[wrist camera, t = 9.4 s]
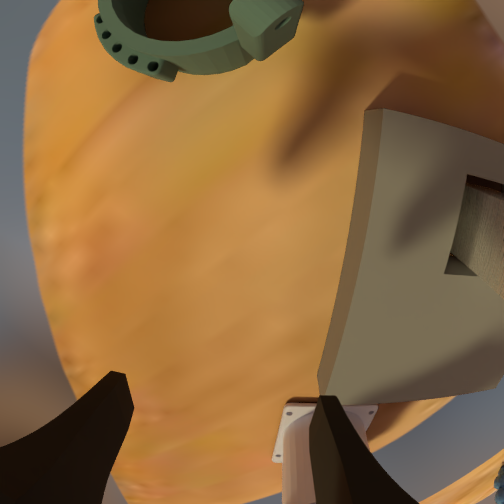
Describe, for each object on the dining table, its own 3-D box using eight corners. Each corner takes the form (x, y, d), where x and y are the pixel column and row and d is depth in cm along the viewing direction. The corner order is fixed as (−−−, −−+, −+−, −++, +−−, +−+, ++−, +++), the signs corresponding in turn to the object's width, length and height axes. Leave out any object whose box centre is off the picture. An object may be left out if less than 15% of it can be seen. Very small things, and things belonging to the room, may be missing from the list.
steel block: (480, 245, 17) (553, 303, 10) (436, 240, 18) (509, 304, 10) (492, 188, 16) (577, 228, 9) (448, 178, 16) (536, 217, 9)
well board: (481, 366, 22) (495, 388, 19) (317, 375, 22) (321, 405, 19) (547, 168, 15) (573, 176, 12) (364, 110, 15) (383, 108, 12)
